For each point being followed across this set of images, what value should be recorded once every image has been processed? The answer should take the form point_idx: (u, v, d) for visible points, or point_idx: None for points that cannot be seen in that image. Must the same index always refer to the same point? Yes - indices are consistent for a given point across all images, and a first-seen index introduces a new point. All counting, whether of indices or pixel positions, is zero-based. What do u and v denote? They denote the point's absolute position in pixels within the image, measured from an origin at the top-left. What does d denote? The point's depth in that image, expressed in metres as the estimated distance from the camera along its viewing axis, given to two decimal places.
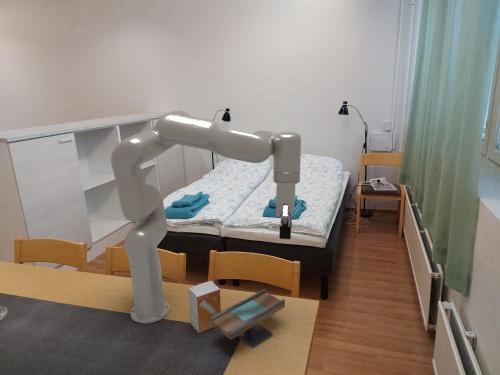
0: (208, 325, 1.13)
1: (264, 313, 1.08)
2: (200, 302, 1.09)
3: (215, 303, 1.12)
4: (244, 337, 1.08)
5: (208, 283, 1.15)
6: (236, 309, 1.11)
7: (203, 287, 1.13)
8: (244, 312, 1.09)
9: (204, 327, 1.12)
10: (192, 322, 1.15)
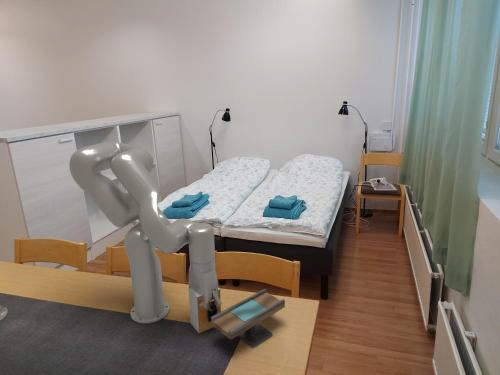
0: (208, 325, 1.13)
1: (264, 313, 1.08)
2: (201, 301, 1.09)
3: None
4: (244, 337, 1.08)
5: None
6: (236, 309, 1.11)
7: None
8: (244, 312, 1.09)
9: (204, 327, 1.12)
10: (192, 322, 1.15)
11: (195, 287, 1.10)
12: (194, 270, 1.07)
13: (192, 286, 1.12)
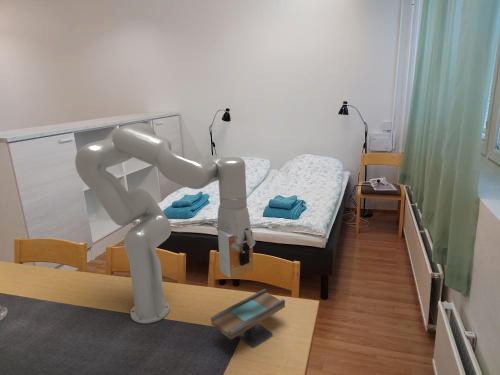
0: (240, 270, 1.04)
1: (264, 313, 1.08)
2: (232, 242, 1.00)
3: None
4: (244, 337, 1.08)
5: None
6: (236, 309, 1.11)
7: None
8: (244, 312, 1.09)
9: (236, 272, 1.03)
10: (222, 268, 1.06)
11: (226, 227, 1.02)
12: (225, 207, 0.99)
13: (222, 228, 1.03)
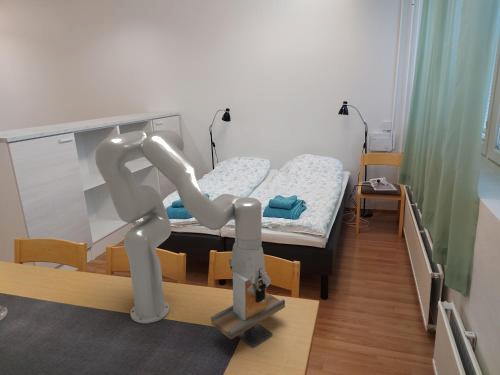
0: (254, 311, 1.07)
1: (264, 313, 1.08)
2: (248, 286, 1.03)
3: None
4: (244, 337, 1.08)
5: None
6: None
7: None
8: None
9: (250, 314, 1.06)
10: (236, 309, 1.08)
11: (240, 266, 1.04)
12: (240, 247, 1.01)
13: (236, 265, 1.05)
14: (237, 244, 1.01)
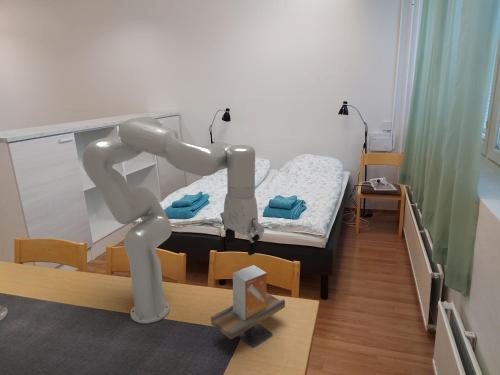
0: (254, 311, 1.07)
1: (264, 313, 1.08)
2: (248, 286, 1.03)
3: (261, 288, 1.06)
4: (244, 337, 1.08)
5: (252, 267, 1.09)
6: None
7: (248, 272, 1.06)
8: None
9: (250, 314, 1.06)
10: (236, 309, 1.08)
11: (233, 217, 0.99)
12: (233, 196, 0.96)
13: (228, 217, 1.01)
14: (229, 193, 0.97)
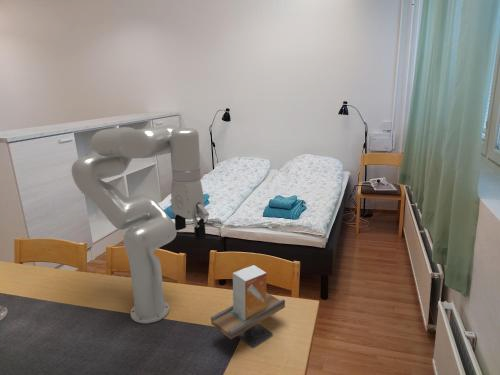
0: (254, 311, 1.07)
1: (264, 313, 1.08)
2: (248, 286, 1.03)
3: (261, 288, 1.06)
4: (244, 337, 1.08)
5: (252, 267, 1.09)
6: None
7: (248, 272, 1.06)
8: None
9: (250, 314, 1.06)
10: (236, 309, 1.08)
11: (178, 201, 0.98)
12: (176, 180, 0.95)
13: (175, 202, 0.99)
14: (173, 177, 0.95)
